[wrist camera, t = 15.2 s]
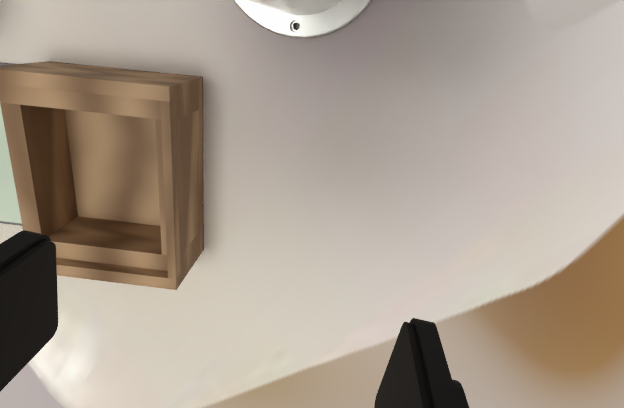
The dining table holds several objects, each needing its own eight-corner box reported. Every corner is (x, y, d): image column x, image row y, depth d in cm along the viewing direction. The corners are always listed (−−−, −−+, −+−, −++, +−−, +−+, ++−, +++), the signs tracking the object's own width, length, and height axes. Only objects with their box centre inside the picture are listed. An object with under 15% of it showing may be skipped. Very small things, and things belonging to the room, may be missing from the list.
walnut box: (72, 234, 42) (21, 270, 35) (49, 61, 36) (-18, 67, 29) (203, 249, 41) (176, 289, 35) (202, 77, 35) (169, 86, 29)
